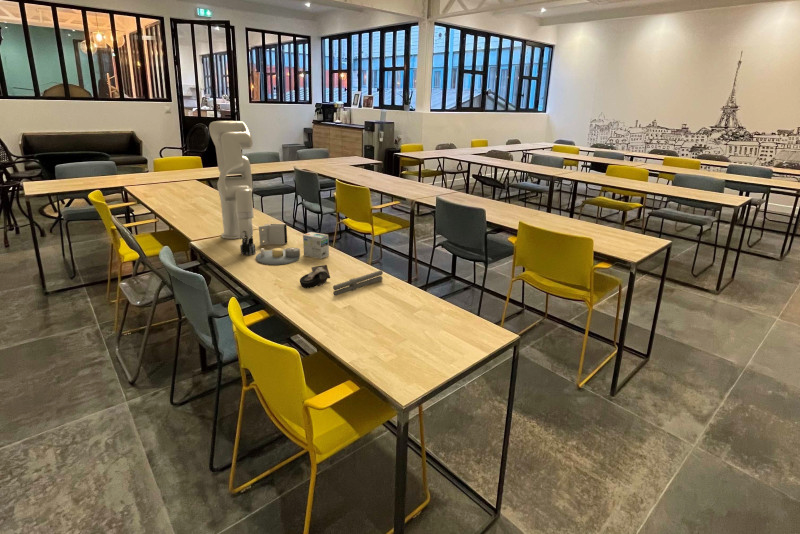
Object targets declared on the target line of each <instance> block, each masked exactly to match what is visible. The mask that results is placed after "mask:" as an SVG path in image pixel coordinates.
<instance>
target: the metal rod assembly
mask: <svg viewBox="0 0 800 534" xmlns="http://www.w3.org/2000/svg"><path fill="white" fill-rule="evenodd" d="M383 274H384V273H383V271H382V270H381V269H380V270H378V271H373V272H371V273H367V274H364V275H362V276H358V277H356V278H355V277H353V278H351V279H349V280H347V281H346V280H345V281H343V282H340V283H338V284H335V285H333V286H332V288H333V292H332V294H333V296H334V297H336V296H339V295H342V294H343V295H344V294H346V293H349V292H353V291H356V290H357V289H360V288H363V287H366V286H370V285H372V284H374V283H378V282H381V281H383V279H384V278H383V276H382V275H383Z"/></svg>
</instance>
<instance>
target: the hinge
mask: <svg viewBox="0 0 800 534" xmlns="http://www.w3.org/2000/svg"><path fill="white" fill-rule="evenodd" d="M287 231H288V229H287V224H286V223H265V224H264V225H261V226H258V234H259V235H258V236H259V246H265V244H267V245H287V244H288V232H287Z"/></svg>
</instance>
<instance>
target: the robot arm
mask: <svg viewBox="0 0 800 534" xmlns="http://www.w3.org/2000/svg"><path fill="white" fill-rule="evenodd" d="M208 130H209V135H210V138H211V140H212V142H213V145H214V146H215V153H216V161H217V169H218V171H219V176H218V180H217V182H216V183H217V185H216V186H217V191H218V195H219V200H220V206H221V207H220V208H221V216H222V217H221V218H222V226H223V232H222V233H221V234H220V237H221V238H223V239H226V240H236V239H238V240H239V239H240V240H241V245H242V250H243V252H250V248H249V244H248V243H250V244H251V243H252V244H254V238H253V234H254V226H253V219H254V204H253V189H254V187H253V176H252V168H251V163H250V159H249V158H248V157H247V156H245V155H243V153H242V150H251V149H252V148H253V144H254V143H253V142H254V141H253V137H252V134H251V131H250V130H249V128H248V126H247V124H246V122H244V121H242V120H216V121H215V120H214V121H212V122H210V123H209V125H208ZM229 175H241V176H230V177H229Z"/></svg>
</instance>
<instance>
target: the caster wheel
mask: <svg viewBox="0 0 800 534" xmlns="http://www.w3.org/2000/svg"><path fill="white" fill-rule="evenodd" d="M310 268H311V272H309V273H307V274H304V275H303V276H301V277H300V279H299V283H300V285H301V288H303V289H313V288H315V287H322V286H324V285H326V282H327V280H328V279H331V276H330V271H329V268H328V265H327V264H323V265H316V266H315V265H314V266H311V267H310Z"/></svg>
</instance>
